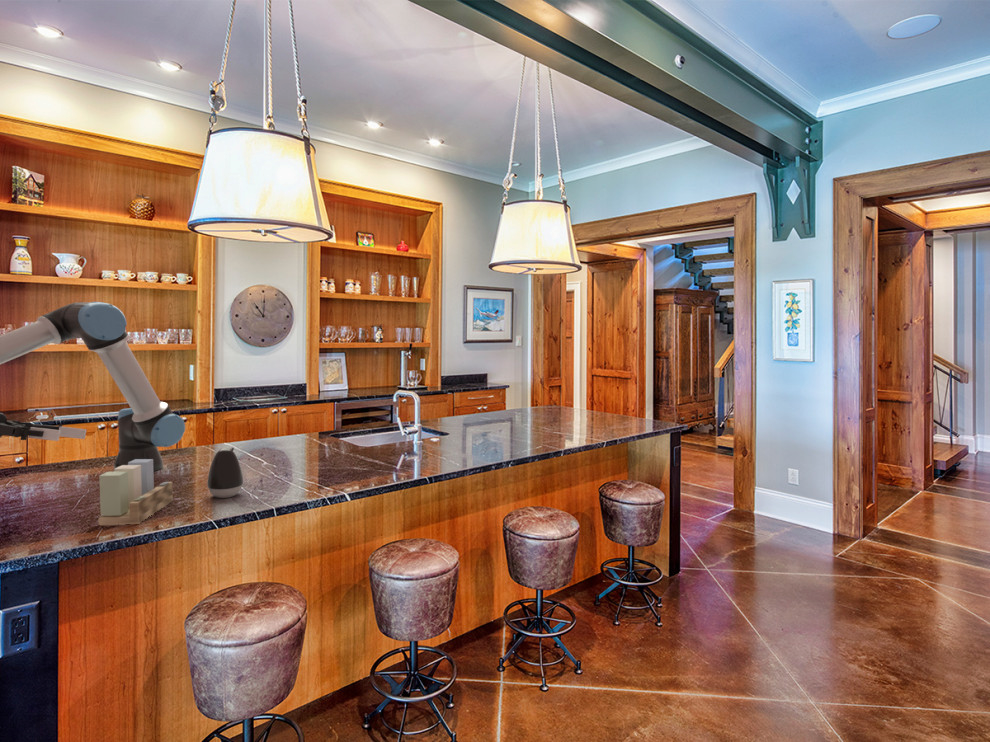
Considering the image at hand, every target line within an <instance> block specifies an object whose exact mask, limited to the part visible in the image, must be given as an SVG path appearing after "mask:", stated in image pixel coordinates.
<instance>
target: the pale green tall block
mask: <svg viewBox="0 0 990 742" xmlns="http://www.w3.org/2000/svg"><path fill="white" fill-rule="evenodd" d="M98 478H99V504H100V506H99V507H100V509H99V510H100V517H101V516H121V515H122V514H124V513H126V512H127V511H129V500H128V472H114V471H106V472H104V473H102V474H100V475H99V477H98Z"/></svg>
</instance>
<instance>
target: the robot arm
mask: <svg viewBox="0 0 990 742" xmlns="http://www.w3.org/2000/svg"><path fill="white" fill-rule="evenodd" d="M127 324H128V323H127V319H126V316H125V314H124V312H122V311H121V309H120V308H118V307H117V306H115V305H113V304H111V303H109V302H108V303H107V302H103V301H89V302H87V301H86V302H83V301H81V302H80V301H79V302H78V301H76V302H71V303H69V304H65V305H64V306H61V307H59V308H56V309H55V310H52V311H49V312H48V313H45V314H43V315H40V316H37V319H36V321H34V322H32V323H29V324H26V325H24V326H21V327H19V328H17V329H14V330H11V331H8V332H5V333H3V334H1V335H0V365H3V364H5V363H7V362H9V361H12V360H14V359H16V358H19V357H21V356H24V355H26V354H28V353H31V352H33V351H35V350H37V349H40V348H42V347H45V346H48V345H50V344H56V345H59V344H61V343H63V342H66V341H70V340H74V339H82V341H83V343H84V344H85V347H86V348H87V349H88V351H91V352H95V353H96V354H97V355H98V357H99V358H100V360H101V361H102V364H103V365H104V366H105V368H106V369H107V371H108V373H109V375H110V376H111V377H112V380H113V381H114V382H115V384H116V386H117V387H118V389H119V391H120V392H121V394H122V396H123V397H124V399H125V401H126V402H127V403H128V405H129V408H122V409H120V410H119V411H118V414H117V424H118V425H117V426H118V430H117V431H118V453H117V456H116V459H115V462H114V464H113V470H114V469H115V468H117V467H119V466H122V465H128V462H130V461H133V460H135V459H153V472H156V471H159V470H160V469H161V470H162V468H163V467H164V461H163V457H162V455H161V453H160V451H159V449H158V448H162V447H163V448H168V447H172V446H175V445H176V444H177V443H179V442H180V440H181V439H182V438H183V436H184V433H185V432H186V422H185V421H184V419H183V418H182V417H181V416H179V415H178V414H175V413H173V411H172V409H171V407H170V405H169V404H168V403H167V402H164V401H161V400H160V398H159V397H158V395H157V393H156V391H155V390H154V387H153V386H152V385H151V383H150V380H149V379H148V377H147V376H146V374H145V373H144V370H143V369H142V367H141V365H140V364H139V361H138V360H137V359H136V357H135V355H134V354H133V351H132V349H131V348H130V346H129V344H128V342H127V339H128V337H129V334H128V332H127V331H126V329H127V328H126V327H127ZM86 435H87V429H84V428H76V427H68V426H63V424H62V423H59V424H58V425H49V424H36V423H31V422H25V421H20V420H12V419H11V420H8V418H7V416H6V415H5V414H4V413H2V412H0V439H1V438H2V437H3V436H4V437H5V436H6V437H12V438H13V437H14V438H20V440H21V441H26V440H27V439H37V440H46V441H54V442H58V441H59V440H60V437H63V438H71V439H81V440H82V439H83V440H85V439H86Z"/></svg>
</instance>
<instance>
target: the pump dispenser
mask: <svg viewBox="0 0 990 742" xmlns="http://www.w3.org/2000/svg"><path fill="white" fill-rule="evenodd" d="M206 483H207V484H206V485H207V488H208V490H209V492H210V493H211V495H212V496H213V497H215V498H219V499H228V498H232V497H234V496H237V495H238V494H239V492H240V491H241V490H242V487H243V484H244V476H243V471H242V468H241V463H240V461H239V458H238V456H237V454H236V453H235V452H234V447H231V448H230V447H229V448H227V447H226V448H221V449H219V450H218V451H217V452H216V453H215V455H214V456H213V459H212V461H211V465H210V468H209V471H208V476H207V482H206Z"/></svg>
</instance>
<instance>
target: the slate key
mask: <svg viewBox="0 0 990 742" xmlns="http://www.w3.org/2000/svg"><path fill="white" fill-rule="evenodd" d="M128 465H141V485H142V495H144V494H146V493H147V492H149V491H151V490H152V489H154V488H155V482H154V481H155V480H154V478H155V477H154V476H155V475H154V473H155V472H154V471H153V459H135V460H133V461H130V462H128Z"/></svg>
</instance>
